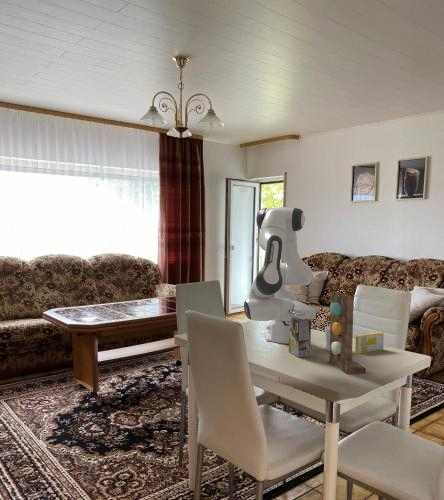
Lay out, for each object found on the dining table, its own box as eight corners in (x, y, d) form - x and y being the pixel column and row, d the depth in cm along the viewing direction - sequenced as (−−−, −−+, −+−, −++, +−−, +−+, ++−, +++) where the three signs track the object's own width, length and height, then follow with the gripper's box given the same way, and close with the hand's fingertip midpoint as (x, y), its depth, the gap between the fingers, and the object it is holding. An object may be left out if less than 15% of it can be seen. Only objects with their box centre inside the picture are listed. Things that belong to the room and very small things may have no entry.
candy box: (380, 348, 205) (381, 331, 205) (383, 350, 203) (384, 332, 203) (354, 352, 198) (355, 334, 198) (358, 353, 196) (358, 335, 196)
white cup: (323, 350, 200) (324, 329, 200) (325, 346, 208) (326, 325, 207) (341, 352, 197) (341, 330, 197) (342, 348, 205) (343, 327, 204)
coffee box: (310, 356, 190) (312, 320, 189) (298, 357, 188) (299, 321, 187) (300, 350, 199) (301, 316, 198) (287, 351, 196) (288, 317, 196)
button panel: (329, 361, 183) (331, 291, 182) (346, 360, 184) (349, 291, 183) (346, 373, 167) (349, 297, 166) (365, 373, 169) (368, 297, 167)
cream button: (331, 352, 177) (331, 340, 177) (339, 352, 178) (339, 340, 177) (336, 356, 172) (336, 343, 172) (344, 355, 173) (344, 343, 172)
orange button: (331, 333, 177) (332, 321, 176) (339, 333, 177) (340, 321, 177) (337, 336, 172) (337, 323, 172) (345, 336, 172) (345, 323, 172)
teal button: (329, 313, 176) (330, 301, 176) (337, 313, 177) (338, 301, 176) (334, 316, 171) (335, 303, 171) (343, 316, 172) (343, 303, 172)
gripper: (294, 306, 160) (329, 306, 162) (277, 297, 180) (309, 297, 182) (293, 323, 160) (328, 322, 162) (277, 312, 180) (308, 312, 183)
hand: (318, 309), depth 173 cm, fingers closed
